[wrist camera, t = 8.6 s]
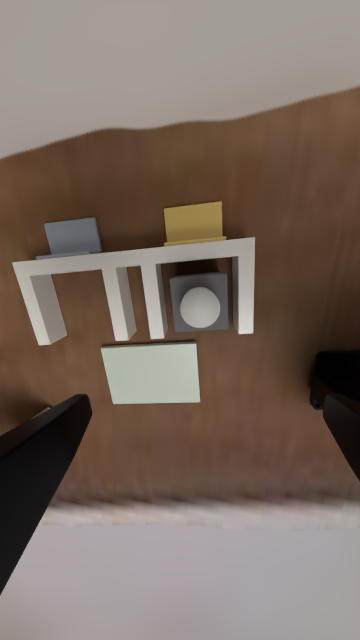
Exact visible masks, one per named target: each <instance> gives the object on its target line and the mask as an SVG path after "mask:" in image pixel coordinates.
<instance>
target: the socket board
mask: <svg viewBox="0 0 360 640" xmlns="http://www.w3.org/2000/svg"><path fill="white" fill-rule="evenodd" d="M164 216H165V226H166V235H167V243H164V247H156V248H146V249H137V250H127V251H118V252H108V253H101V252H102V248H101V243H100V237H99V232H98V227H97V222H96V218H94V217H93V218H85V219H77V220H69V221H61V222H53V223H45V224H44V227H45V231H46V235H47V239H48V242H49V246H50V250H51V254H52V255H46V256H37V257H36V260H32V261H22V262H13V263H12V264H13V267H14V270H15V273H16V276H17V279H18V282H19V286H20V289H21V292H22V295H23V298H24V301H25V304H26V307H27V310H28V313H29V316H30V319H31V323H32V326H33V329H34V332H35V335H36V338H37V341H38V344H39V345H51V344H52V343H54V342H56V341H58V340H60V339H61V338H63V337H65V336H67V331H66V328H65V324H64V320H63V317H62V313H61V309H60V306H59V302H58V298H57V295H56V291H55V287H54V284H53V280H52V276H51V274H60V273H71V272H81V271H92V270H102V274H103V279H104V284H105V289H106V294H107V299H108V304H109V309H110V314H111V319H112V324H113V329H114V334H115V339H116V341H124V340H129V339H130V338H131V337H132V336H133V335H134V333H135V332H136V331H137V330H136V323H135V317H134V311H133V305H132V299H131V293H130V287H129V281H128V274H127V268H126V267H133V266H141V272H142V279H143V286H144V293H145V300H146V307H147V314H148V321H149V328H150V335H151V339H160V338H164V337H165V335H166V333H167V330H168V324H167V315H166V307H165V298H164V289H163V280H162V271H161V264H165V263H175V262H186V261H196V260H207V259H217V258H228V257H232V280H233V326H234V328H235V329H236V331H237V332H238V334H251V333H253V313H254V263H255V237H252V238H242V239H232V240H226V236H224V237H223V235H222V201H220V202H212V203H204V204H196V205H188V206H180V207H172V208H164Z"/></svg>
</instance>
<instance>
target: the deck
mask: <svg viewBox="0 0 360 640" xmlns="http://www.w3.org/2000/svg"><path fill="white" fill-rule="evenodd" d="M101 352H102V356H103V361H104V365H105V369H106V374H107V378H108V383H109V387H110V392H111V396H112V400H113V404H133V403H182V402H200V391H199V377H198V363H197V349H196V341H191V342H172V343H153V344H134V345H115V346H103V347H102V348H101Z"/></svg>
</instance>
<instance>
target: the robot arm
mask: <svg viewBox="0 0 360 640" xmlns="http://www.w3.org/2000/svg"><path fill="white" fill-rule="evenodd" d="M323 356H325V357H324V358H323V359H322V357H323ZM316 404H317V405H316ZM311 406H312V407H313V408H314V409H316V410H323V418H324V420H325V422H326V424H327V426H328V428H329V429H330V431H331V433H332V435H333V437H334V438H335V440H336V442H337V444H338V446H339V447H340V449H341V451H342V453H343V455H344V456H345V458H346V460H347V462H348V463H349V465H350V467H351V468H352V470H353V472H354V473H355V475H356V476H357V478H358V479H359V481H360V350H355V351H332V352H320V353H318V354H317V356H316V364H315V372H314V374H313V380H312V388H311ZM91 416H92V408H91V404H90V400H89V396H88V395H86V394H77V395H75V396H73V397H71V398H69V399H67V400H65V401H64V402H62V403H60V404H58V405H56V406H54V407H53V408H51V409H49V410H47V411H45V412H43V413H42V414H40V415H38V416H36V417H34V418H32V419H30V420H29V421H27V422H25V423H23V424H21V425H19V426H18V427H16V428H14V429H12V430H10V431H8V432H7V433H5V434H3V435H1V436H0V595H1V593H2V591H3V589H4V587H5V585H6V583H7V582H8V580H9V578H10V576H11V574H12V572H13V570H14V569H15V567H16V565H17V563H18V561H19V559H20V557H21V556H22V554H23V552H24V550H25V548H26V546H27V544H28V542H29V541H30V539H31V537H32V535H33V533H34V531H35V529H36V527H37V526H38V524H39V522H40V520H41V518H42V516H43V514H44V513H45V511H46V509H47V507H48V505H49V503H50V501H51V499H52V498H53V496H54V494H55V492H56V490H57V488H58V486H59V485H60V483H61V481H62V479H63V477H64V475H65V473H66V471H67V470H68V468H69V466H70V464H71V462H72V460H73V458H74V456H75V454H76V452H77V449H78V447H79V445H80V442H81V440H82V438H83V435H84V433H85V431H86V428H87V426H88V424H89V421H90V419H91Z"/></svg>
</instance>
